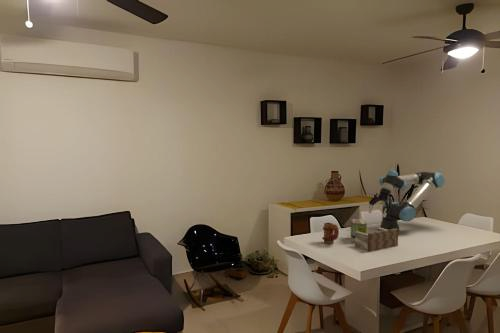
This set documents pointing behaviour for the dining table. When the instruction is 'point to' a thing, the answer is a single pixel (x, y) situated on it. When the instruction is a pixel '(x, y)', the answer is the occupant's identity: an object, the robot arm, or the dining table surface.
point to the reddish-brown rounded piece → (330, 233)
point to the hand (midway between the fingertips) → (376, 214)
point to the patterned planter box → (377, 239)
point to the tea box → (357, 227)
